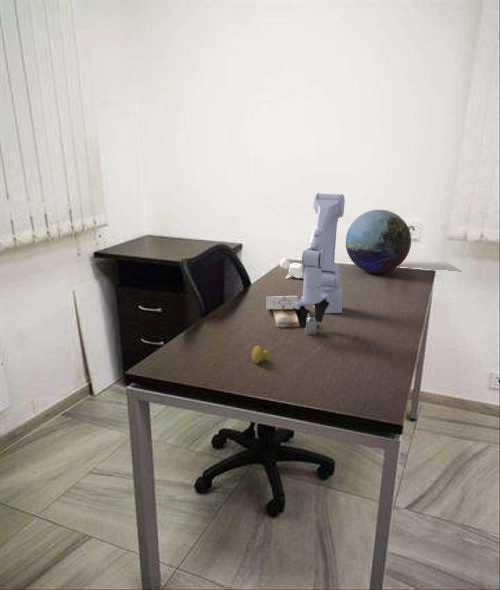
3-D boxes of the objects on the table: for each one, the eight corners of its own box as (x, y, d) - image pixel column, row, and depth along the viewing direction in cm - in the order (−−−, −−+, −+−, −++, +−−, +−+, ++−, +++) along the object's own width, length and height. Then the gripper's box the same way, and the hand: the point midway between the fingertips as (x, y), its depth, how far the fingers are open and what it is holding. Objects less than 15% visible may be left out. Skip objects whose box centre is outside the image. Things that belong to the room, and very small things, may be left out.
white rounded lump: (307, 282, 220) (280, 267, 224) (314, 267, 216) (287, 252, 221) (301, 287, 213) (273, 272, 217) (308, 271, 209) (279, 256, 213)
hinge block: (314, 330, 159) (314, 315, 157) (316, 334, 155) (317, 319, 154) (304, 330, 158) (304, 316, 157) (306, 334, 155) (306, 320, 153)
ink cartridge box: (267, 295, 179) (306, 295, 177) (267, 308, 179) (306, 308, 177) (266, 296, 170) (306, 295, 169) (266, 309, 170) (306, 309, 169)
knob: (256, 366, 134) (256, 351, 132) (249, 359, 138) (249, 344, 137) (270, 363, 136) (271, 348, 134) (263, 356, 140) (263, 341, 139)
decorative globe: (416, 280, 211) (423, 215, 201) (350, 281, 212) (354, 215, 202) (397, 263, 239) (403, 205, 230) (339, 263, 240) (342, 205, 230)
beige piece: (304, 312, 174) (304, 300, 173) (311, 326, 161) (312, 314, 160) (272, 313, 174) (272, 301, 172) (277, 328, 161) (277, 315, 159)
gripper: (318, 278, 159) (316, 315, 163) (287, 287, 150) (286, 325, 154) (334, 283, 153) (332, 321, 158) (302, 292, 145) (301, 332, 149)
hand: (310, 324), depth 156 cm, fingers open, 7 cm apart
